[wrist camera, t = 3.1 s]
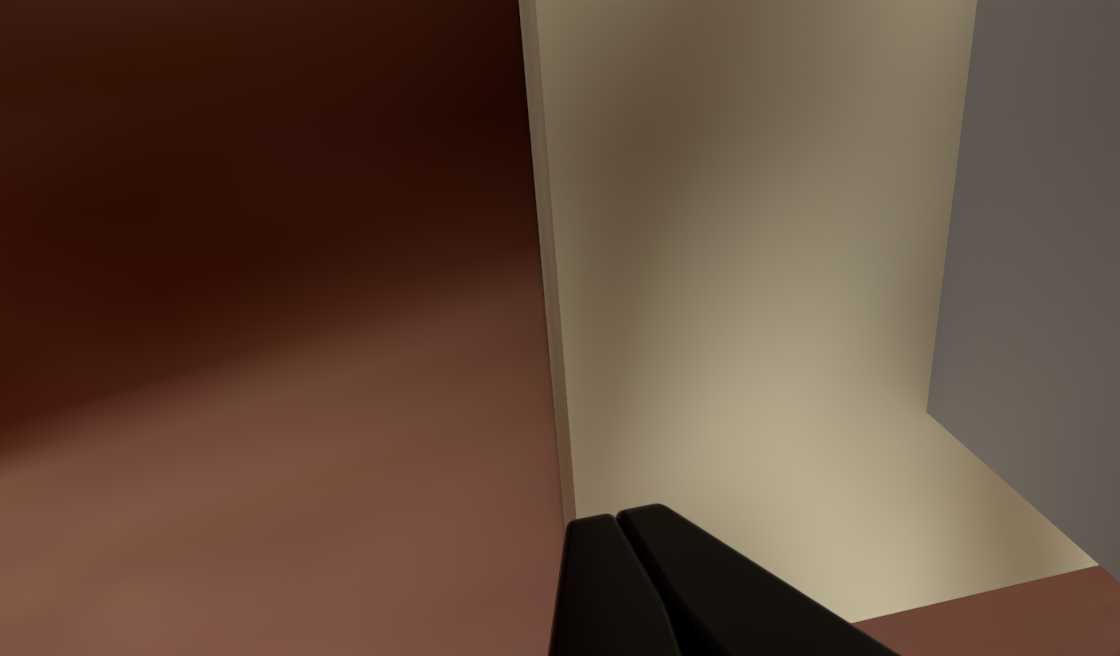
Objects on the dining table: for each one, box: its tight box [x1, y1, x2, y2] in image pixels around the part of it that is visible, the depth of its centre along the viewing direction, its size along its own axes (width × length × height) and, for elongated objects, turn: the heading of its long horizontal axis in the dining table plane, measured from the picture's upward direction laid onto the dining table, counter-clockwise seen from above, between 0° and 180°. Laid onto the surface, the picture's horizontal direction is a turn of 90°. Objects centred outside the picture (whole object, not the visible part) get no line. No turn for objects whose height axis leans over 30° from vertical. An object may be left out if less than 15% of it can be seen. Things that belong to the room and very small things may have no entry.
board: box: [519, 0, 1099, 623], centre depth 15 cm, size 18×16×1 cm
